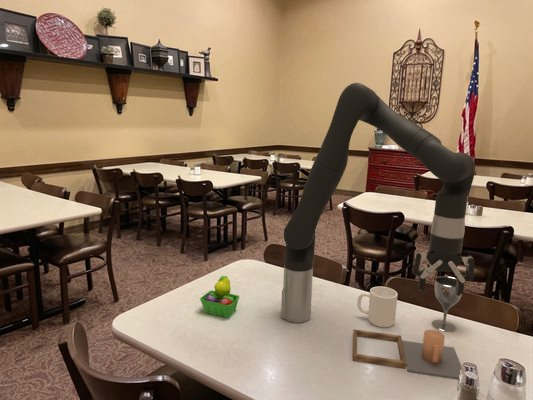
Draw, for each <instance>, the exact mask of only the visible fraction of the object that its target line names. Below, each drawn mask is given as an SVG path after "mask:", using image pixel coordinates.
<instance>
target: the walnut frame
mask: <svg viewBox="0 0 533 400" xmlns="http://www.w3.org/2000/svg"><path fill="white" fill-rule="evenodd" d="M352 333H353V335H352V361H353V362H358V363H359V362H360V363H366V364H372V365H379V366H387V367H392V368H399V369H405V370H407V367H406V365H407V363H406V358H405V353H404V348H403V343H402V340H403V338H402V335H400V334H392V333H391V334H390V333H385V332H377V331H368V330H362V329H361V330H360V329H355V328H354V329H353V331H352ZM358 337H360V338H367V337H368V338H369V339H374V338H375V339H376V340H383V341H389V342H395V343H396V342H397V347H398V353H399V359H400V360H399V359H391V358H386V357H380V356H373V355H365V354H358ZM375 339H374V340H375Z"/></svg>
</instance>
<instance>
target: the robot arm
mask: <svg viewBox="0 0 533 400" xmlns="http://www.w3.org/2000/svg"><path fill="white" fill-rule="evenodd" d="M335 106H336V107H335V109H334V112H333V116H332V119H331V122H330V125H329V128H328V129H327V132H326V135H325V137H324V139H323V141H322V144H321V146H320V148H319V151H318V153H317V155H316V157H315V159H314V161H313V163H312V166H311V168H310V170H309V174H308V175H307V178H306V182H305V184H304V187H303V191H302V194H301V198H300V200H299V202H298V205H297V207H296V209H294V212H293V214H292V216H291V218H290V219H289V220H288V222H287V223H286V225H285V227H284V229H283V239H284V242H285V250H284V252H285V253H284V258H283V284H282V286H283V288H282V289H281V306H280V309H281V310H280V319H284V320H285V321H288V322H290V323H295V324H300V323H305V322H308V321H310V319H311V316H312V315H311V314H312V297H313V296H312V295H313V275H314V273H313V272H314V259H315V258H314V257H315V247H316V244H315V243H316V229H317V226H318V224H319V221H320V218H321V215H322V213H323V211H324V210H325V208H326V207H327V206H328V204H329V202H330V200H331V198H332V197H333V195H334V193H335V192H336V190H337V188H338V186H339V184H340V182H341V179H342V177H343V175H344V173H345V170H346V168H347V166H348V162H349V160H348V159H349V152H350V150H349V149H350V143H351V138H352V136H353V133H354V130H355V128H356V126H357V124H358V123H359V122H360V121H361V122H363V123H366V124H368V125H370V126H373V127H374V128H377V129H378V130H379V131H381V132H382V133H384V134H385V135H386V136H387V137H389V138H390V139H391V140H392V141H393V143H395V144H396V145H397V146H399V147H400V148H401V149H403V150H404V151H405V152H407V153H408V154H409V155H410V156H412V157H413V158H415V159H416V160H418V161H419V162H421V163H422V165H423V166H424V167H425V168H426V169H427V170H428V171H429V172H430V173H431V174H433V176H435V177H436V178H437V179H439V180H440V181H442V185H441V186H442V187H441V189H440V191H439V192H438V193H437V194H436V196H435V197H436V198H435V203H434V205H435V206H434V211H433V212H434V213H433V217H432V220H431V227H430V235H429V236H430V237H429V245H428V251H427V252H426V253H425V252H420V251H419V250H416V251H415V252H414V257H413V262H412V267H411V268H412V269H411V271H412V274H413V276H416V277H418V281H417V286H418V289H419V290H420V292H421V293H425V288H426V282H427V279H426V278H427V276H428V275H429V274H432V273H433V272H434V271H435V272H439V273H441V272H444V273H451V272H453V273H454V275H455V276H456V279H457V281H456V289H455V294H456V295H457V296H460V294H464V289H465V287H464V286H465V283H466V282H473V281H474V278H475V277H474V276H475V274H474V273H475V264H476V263H475V261H476V260H475V259H474V257H473V256H472V255H468V256H462V252H463V251H462V250H463V244H464V243H463V242H464V237H465V236H464V235H465V232H466V231H465V228H466V213H467V205H468V196H469V194H470V191H471V189H472V185H473V181H474V177H475V173H476V164H475V163H476V162H475V161H474V159H473V158H472V156H471V155H470V154H468V153H466V152H454V151H452V150H450V149H449V148H448V147H446V146H444V145H443V144H442V141H441V139H439V138H438V137H437V136H436V135H434V134H433V133H431V132H430V131H428V130H427V129H425V127H424V128H423V127H422V126H420V125H419V124H418V123H415V122H413V121H412V120H410V119H408V118H407V117H404V116H403V115H402V114H399V112H397V111H396V110H394V109H393V108H391V107H390V106H389V105H388V104H387V103H386V102H385V101H383V99H381V97H380V96H379V95H378V94H377V93H376V92H375V90H374V89H371V88H370V87H368V86H366V85H365V84H363V83H360V82H353V83H349V85H347V86H346V87H345V88H344V89H343V91H342V92H341V94H340V95H339V98H338V100H337V104H336V105H335ZM424 259H426V260H427V261H428V262H427V263H425V264H424V266H423V268H421V270H420V265H421V262H423V261H424ZM462 262H463V264H464V266H465V274H462V273H461V272H460V270H459V269H458V266H460V265H461V264H462Z"/></svg>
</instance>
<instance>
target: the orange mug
mask: <svg viewBox="0 0 533 400" xmlns="http://www.w3.org/2000/svg"><path fill="white" fill-rule="evenodd" d="M445 338H446V337H445V334H444V333H442V331H441V332H440V330H437V329H426V330H425V331H424V332H423V341H422V343H423V348H422V358H423V359H424V360H425V361H427V362H429V363H432V364H439V363H441V361H442V354H443V346H445V345H444V343H445Z"/></svg>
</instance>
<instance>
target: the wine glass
mask: <svg viewBox="0 0 533 400" xmlns="http://www.w3.org/2000/svg"><path fill="white" fill-rule="evenodd" d="M457 279H458V278H457V277H452V276H436V277H435V279H434V295H435V298H436V299H437V301H438V302H439V303H440V305H441V306H442V309H443V310H442V311H443V319H434V320H432V321H431V326H432V327H433V328H435V330H437V331H441V332H446V333H452V332H456V330H457V327H456V325H455V324H453V323H452V322H450V321H448V320H447V317H448V316H447V315H448V312H449V309H450V308H452V307H453V306H455V305H456V304H457V303H458V302H459V301H460V300H461V297H462V294H463V293H462V294H460V296H457V295H456V294H455V289H456V281H457ZM447 321H448V322H447Z"/></svg>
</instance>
